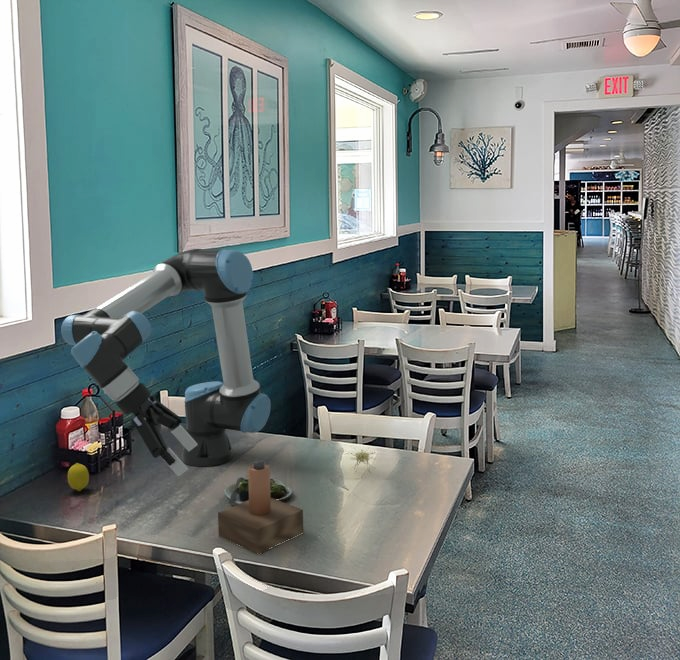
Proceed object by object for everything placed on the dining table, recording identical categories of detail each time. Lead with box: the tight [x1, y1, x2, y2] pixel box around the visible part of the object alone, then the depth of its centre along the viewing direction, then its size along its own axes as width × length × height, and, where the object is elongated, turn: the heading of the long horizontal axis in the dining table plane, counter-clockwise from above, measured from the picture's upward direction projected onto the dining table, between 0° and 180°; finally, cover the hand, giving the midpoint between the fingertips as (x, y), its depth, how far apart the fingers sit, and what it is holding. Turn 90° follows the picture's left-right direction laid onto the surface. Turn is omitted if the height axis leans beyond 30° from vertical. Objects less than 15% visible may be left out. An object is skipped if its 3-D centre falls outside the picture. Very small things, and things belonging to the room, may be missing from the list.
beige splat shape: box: [344, 444, 376, 473], centre depth 217 cm, size 10×13×8 cm
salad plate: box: [224, 476, 293, 506], centre depth 202 cm, size 19×18×5 cm
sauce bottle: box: [247, 459, 271, 515], centre depth 176 cm, size 5×5×12 cm
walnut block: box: [217, 498, 304, 555], centre depth 178 cm, size 14×14×6 cm
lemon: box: [67, 462, 90, 492], centre depth 206 cm, size 6×6×8 cm
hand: (188, 459), depth 177 cm, fingers open, 13 cm apart
